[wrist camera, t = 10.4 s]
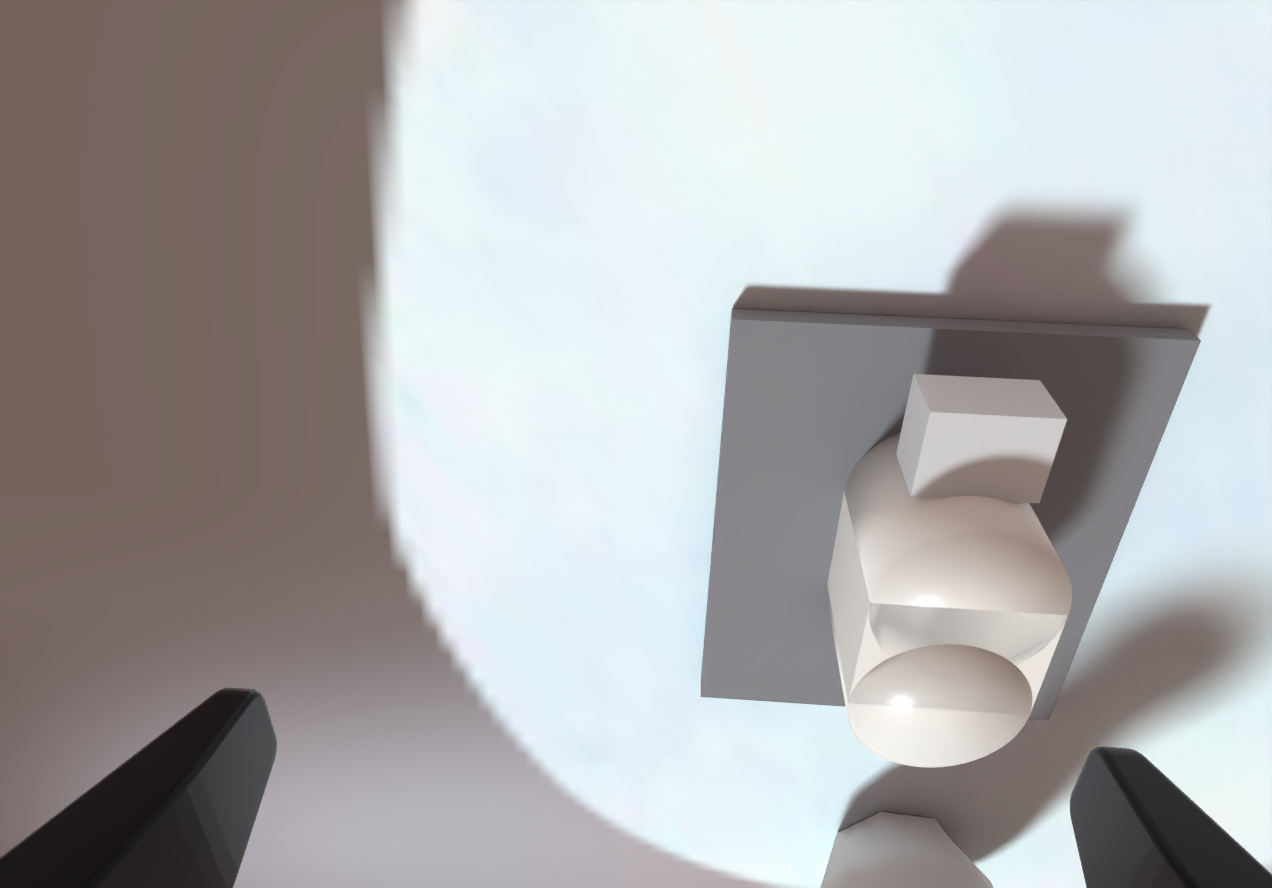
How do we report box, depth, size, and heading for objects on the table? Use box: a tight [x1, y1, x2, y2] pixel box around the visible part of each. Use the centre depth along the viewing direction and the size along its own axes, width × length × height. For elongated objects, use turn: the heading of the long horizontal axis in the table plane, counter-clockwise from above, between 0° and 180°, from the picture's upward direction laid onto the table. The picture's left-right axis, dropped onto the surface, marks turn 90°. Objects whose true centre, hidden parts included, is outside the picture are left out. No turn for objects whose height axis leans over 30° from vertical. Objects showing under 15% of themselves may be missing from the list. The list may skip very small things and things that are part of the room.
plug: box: [827, 374, 1072, 768], centre depth 20 cm, size 9×4×4 cm, turn 179°
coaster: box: [701, 309, 1201, 720], centre depth 22 cm, size 10×12×1 cm
